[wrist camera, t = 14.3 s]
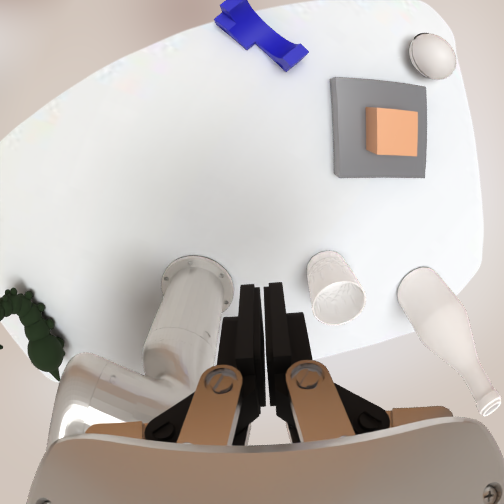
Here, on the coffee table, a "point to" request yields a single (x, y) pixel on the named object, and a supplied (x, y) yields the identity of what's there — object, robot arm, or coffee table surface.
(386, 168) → the flat gray square plate
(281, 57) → the cable clip
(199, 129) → the coffee table surface
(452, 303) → the wine bottle
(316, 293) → the white cup
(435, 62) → the white piece
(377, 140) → the tan block
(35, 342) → the toy figurine
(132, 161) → the coffee table surface
